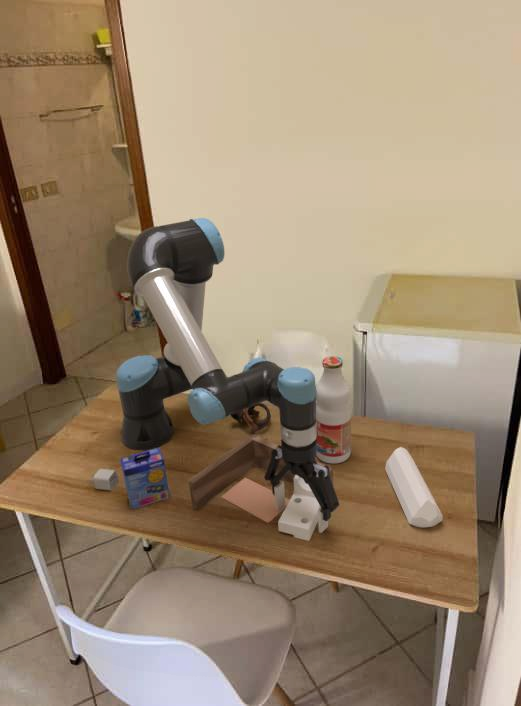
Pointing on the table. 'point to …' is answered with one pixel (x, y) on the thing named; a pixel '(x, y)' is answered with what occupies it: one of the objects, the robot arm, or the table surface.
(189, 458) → the table surface
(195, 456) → the table surface
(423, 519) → the crystal
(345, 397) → the fruit juice
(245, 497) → the pad
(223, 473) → the corner walls
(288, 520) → the bracket
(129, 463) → the ink cartridge box
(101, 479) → the usb wall charger
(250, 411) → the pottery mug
